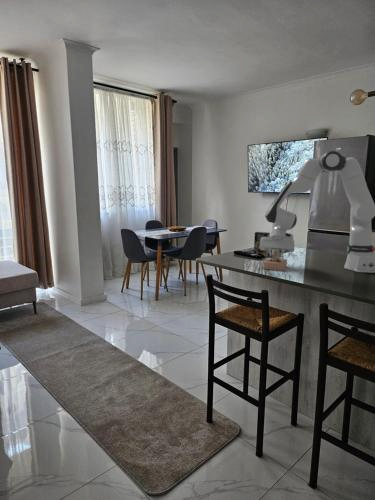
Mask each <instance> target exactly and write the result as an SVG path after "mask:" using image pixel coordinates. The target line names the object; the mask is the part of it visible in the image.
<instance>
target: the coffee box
mask: <svg viewBox="0 0 375 500" xmlns="http://www.w3.org/2000/svg"><path fill="white" fill-rule="evenodd" d="M264 236H265V237H271V232H267V231H266V232H264V231H255V232H254V239H253V241H254V242H253V243H254V244H253V245H254V246H253V254H254V253H258V254H262V255H264V256H265V257H264V258H268V257H269V256H268V254H269V255H270V253H269V251H267V250H260V247H259V246H260V239H261V238H262V237H264Z"/></svg>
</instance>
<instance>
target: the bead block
mask: <svg viewBox="0 0 375 500" xmlns="http://www.w3.org/2000/svg"><path fill="white" fill-rule="evenodd" d="M262 263H263V266H262V267H263V270H272V269H273V271H274V270H276V271H284V272H285V271H286V268H287V265H288V259H285V258H279V262H272V257H265V259H264V261H263V262H262Z"/></svg>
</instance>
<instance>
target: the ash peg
mask: <svg viewBox="0 0 375 500" xmlns="http://www.w3.org/2000/svg"><path fill="white" fill-rule="evenodd" d="M280 252H281V251H280V250H278V249H273V250H272V251H271V253H272V256H271V258H272V262H279V259H280V257H279V253H280Z"/></svg>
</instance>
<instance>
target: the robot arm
mask: <svg viewBox="0 0 375 500" xmlns="http://www.w3.org/2000/svg"><path fill="white" fill-rule="evenodd" d="M332 172H337V173H339V176H340V178H341V181H342V184H343V188H344V191H345V195H346V198H347V199H348V201H349V204H350V213H349V214H350V216H349V221H350V222H349V228H350V230H349V239H348V244H347V257H346V259H345V260H346V261H345V264H344V266H343V268H344V269H347V270H349V271H354V272H357V273H368V274H369V273H373V274H374V273H375V246H374V245H372V235H373V233H372V232H373V229H372V219H374V217H375V202H374V199H373V198H372V195H371V193H370V190H369V187H368V185H367V184H368V183H367V182H366V179H365V175H364V172H363V169H362V167H361V164H360V163H359V161H358V160H357V159H356V157H344V156H343V155H342V154H341V153H340V152H339V151H336V150H329V151H327V152H325V153H324V154H322V156H320V158H318V159H316V158H313V157H309V158H306V159H305V160H304V162H303V163H302V164H301V167H300V168H299V170H298V171H297V174H296V176H295V177H294V178H293V179H292V180H288V181H287V182H286V183H285V184H284V185H283V187H282V188H281V190H280V192H279V193H278V194H277V196H276V198H274V201H273V202H272V203H271V204H270V206H269V207H268V208H267V210H266V211H265V216H264V217H265V219H266V220H267V222H269V223H270V224H272V226H271V227H272V230H271V232H270V237H265V236H264V237H262V238H261V239H260V246H259V247H260V250H267V251H269V257H272V250H273V249H278V250H280V251H279V258H283V255H284V254H285V252H287V253H293V252H295V247H296V246H295V240H294V235H293V234H292V233H288V232H287V231H289V230H291V229H293V228H295V226H296V225H297V221H298V216H297V214H296V213H294V212H292V211H290V210H287V209H284V208H282V207H281V205H282V204H283V202H284V201H285V200H286V198H287V197H288V195H291V194H299V193H301V194H302V193H307V192H309V191H311V189H313V187H314V186H315V183H316V181H317V179H318V178H319V175H320V174H321V173H332Z"/></svg>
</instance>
